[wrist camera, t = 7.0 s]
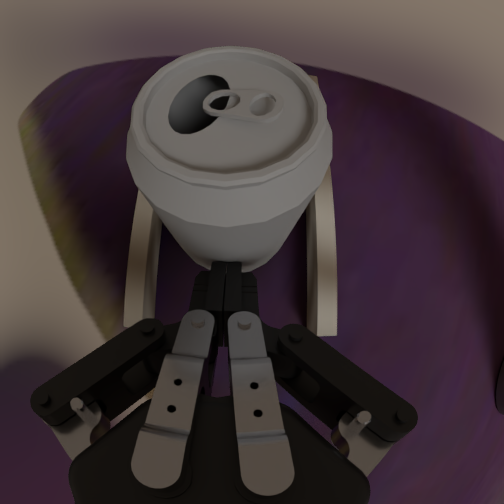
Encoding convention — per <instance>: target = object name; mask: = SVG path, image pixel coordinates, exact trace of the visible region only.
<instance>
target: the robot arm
mask: <svg viewBox="0 0 504 504" xmlns="http://www.w3.org/2000/svg"><path fill="white" fill-rule="evenodd" d="M223 338H224V347H228V367H229V382H230V396H225V397H219V398H215V397H211V393H212V386H213V380H214V374H215V368H216V362H217V355H218V347H223ZM275 381H276V382H277V383H278V384H279V385H281V386H282V387H283V388H284V389H285V390H286V391H287V392H288V393H289V394H291V395H292V396H293V397H294V398H295V399H296V400H297V401H298V402H300V403H301V404H302V405H303V406H304V407H305V408H306V409H308V410H309V411H310V412H311V413H312V414H313V415H315V416H316V417H317V418H318V419H319V420H321V421H322V422H323V423H324V424H325V425H327V426H328V427H329V428H330V429H331V430H332V432H331V441H332V443H333V444H334V446H335V447H336V448H337V449H338V450H337V449H336V448H335V447H333V446H332V445H331V444H330V443H329V442H328V441H327V440H326V439H324V438H323V437H322V436H321V435H320V434H319V433H318V432H317V431H316V430H314V429H313V428H312V427H311V426H310V425H309V424H308V423H307V422H306V421H305V420H304V419H303V418H302V417H301V416H300V415H298V414H297V413H296V412H295V411H294V410H293V409H291V408H290V407H288V406H286V405H284V404H282V403H280V402H279V400H278V394H277V389H276V384H275ZM153 388H155V391H154V394H153V397H152V398H151V399H149V400H147V401H145V402H144V403H142V404H141V405H140V406H138V407H137V408H136V409H135V410H134V411H132V412H131V413H130V414H129V415H127V416H126V417H125V418H124V419H123V420H121V421H120V422H119V423H118V424H116V425H115V426H114V427H113V428H111V429H110V421H111V420H113V419H114V418H115V417H117V416H118V415H119V414H121V413H122V412H123V411H125V410H126V409H127V408H129V407H130V406H131V405H133V404H134V403H135V402H137V401H138V400H139V399H141V398H142V397H143V396H144V395H146V394H147V393H148V392H150V391H151V390H152V389H153ZM30 402H31V407H32V409H33V411H34V412H35V413H36V414H37V415H38V416H39V417H40V418H42V419H43V421H44V422H45V423H46V424H47V425H48V426H49V427H50V428H51V429H52V430H53V432H54V433H55V435H56V437H57V438H58V440H59V442H60V443H61V445H62V446H63V448H64V449H65V451H66V452H67V454H68V455H69V457H70V458H71V459H72V463H71V465H70V468H69V474H68V475H69V476H68V477H69V484H70V488H71V491H72V494H73V497H74V500H75V504H368V502H369V498H370V485H369V481H368V479H367V476H368V475H369V474H370V472H371V471H372V470H373V469H374V468H375V467H376V465H377V464H378V463H379V462H380V461H381V459H382V458H383V457H384V456H385V454H386V453H387V452H388V450H389V449H390V448H391V447H392V446H393V445H394V444H395V443H397V442H398V441H399V440H400V439H402V438H403V437H404V436H405V435H406V434H408V433H409V432H410V431H411V430H412V429H413V428H414V427H415V426H416V424H417V420H418V415H417V412H416V410H415V408H414V407H413V406H412V405H411V404H409V403H408V402H407V401H405V400H404V399H402V398H401V397H399V396H398V395H397V394H395V393H394V392H392V391H391V390H390V389H388V388H387V387H385V386H384V385H383V384H381V383H380V382H379V381H377V380H376V379H374V378H373V377H372V376H370V375H369V374H368V373H366V372H365V371H363V370H362V369H361V368H359V367H358V366H357V365H355V364H354V363H353V362H351V361H350V360H349V359H347V358H346V357H344V356H343V355H342V354H340V353H339V352H338V351H336V350H335V349H334V348H332V347H331V346H330V345H328V344H327V343H326V342H324V341H323V340H322V339H320V338H319V337H318V336H317V335H315V334H314V333H313V332H311V331H310V330H309V329H307V328H306V327H304V326H302V325H299V324H289V325H286V326H284V327H283V328H282V329H281V330H280V329H277V328H273V327H270V326H268V325H266V324H265V323H263V322H262V320H261V319H260V317H259V309H258V294H257V279H256V278H255V276H254V275H253V273H249V272H242V262H227V273H226V262H212V264H211V270H210V271H201V272H200V273H199V274H198V275H197V276H196V278H195V283H194V287H193V292H192V297H191V302H190V306H189V311H188V313H186V314H185V315H184V317H183V318H182V321H180V322H178V323H175V324H170V325H165V326H163V324H162V323H161V322H160V321H159V320H157V319H154V318H146V319H142V320H140V321H138V322H137V323H135V324H134V325H132V326H131V327H129V328H128V329H126V330H125V331H123V332H122V333H120V334H118V335H117V336H115V337H114V338H112V339H111V340H109V341H108V342H106V343H105V344H103V345H102V346H100V347H99V348H97V349H96V350H94V351H93V352H91V353H90V354H88V355H87V356H85V357H83V358H82V359H80V360H79V361H78V362H76V363H74V364H73V365H71V366H70V367H68V368H67V369H65V370H64V371H62V372H61V373H60V374H58V375H56V376H55V377H53V378H52V379H50V380H49V381H47V382H46V383H44V384H43V385H41V386H40V387H38V388H37V389H36V390H35V391H34V392H33V394H32V396H31V400H30ZM496 405H497V409H498V411H499V412H500V413H501V414H503V415H504V360H503V363H502V366H501V369H500V373H499V377H498V382H497V389H496Z"/></svg>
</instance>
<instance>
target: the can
mask: <svg viewBox="0 0 504 504" xmlns="http://www.w3.org/2000/svg"><path fill="white" fill-rule="evenodd" d="M331 159H332V130H331V128H330V125H329V123H328V120H327V108H326V103H325V101H324V99H323V96H322V94H321V92H320V90H319V88H318V85H317V84H316V83H315V82H314V81H313V80H312V79H311V78H310V77H309V76H308V75H307V74H306V73H305V72H304V71H303V70H302V69H301V68H300V67H298V66H297V65H295V64H293V63H292V62H290V61H288V60H286V59H285V58H283V57H281V56H279V55H276V54H273V53H270V52H267V51H263V50H261V49H257V48H250V47H239V46H225V47H224V46H223V47H214V48H206V49H202V50H199V51H196V52H193V53H190V54H187V55H184V56H181V57H179V58H178V59H176V60H174V61H172V62H171V63H169V64H167V65H166V66H164V67H162V68H161V69H159V70H158V71H157V72H156V73H155V74H154V75H153V76H152V77H151V78H150V79H149V80H148V81H147V82H146V83H145V84H144V85H143V86H142V88H141V90H140V92H139V94H138V96H137V98H136V100H135V102H134V104H133V106H132V114H131V126H130V129H129V131H128V135H127V151H126V160H127V162H128V165H129V168H130V171H131V174H132V176H133V179H134V182H135V184H136V186H137V187H138V188H139V190H140V191H141V193H142V194H143V196H144V197H145V198H146V200H147V201H148V203H149V204H150V205H151V207H152V208H153V210H154V211H155V212H156V214H157V215H158V216H159V218H160V219H161V221H162V222H163V223H164V225H165V226H166V227H167V229H168V230H169V231H170V233H171V234H172V235H173V237H174V238H175V239H176V241H177V242H178V243H179V245H180V246H181V247H182V249H183V250H184V251H185V252H186V253H187V254H188V255H189V256H190V257H191V258H192V259H193V260H194V261H195V262H196V263H197V264H199V265H201V266H203V267H205V268H207V269H209V270H211V264H212V262H226V273H227V262H242V272H249V271H252V270H254V269H255V268H257V267H259V266H261V265H263V264H265V263H267V262H268V261H269V260H270V259H271V258H272V257H273V256H274V255H275V254H276V253H277V252H278V251H279V249H280V248H281V246H282V245H283V243H284V241H285V240H286V238H287V237H288V235H289V234H290V232H291V230H292V229H293V227H294V226H295V224H296V223H297V221H298V219H299V218H300V216H301V215H302V213H303V212H304V210H305V208H306V207H307V205H308V204H309V202H310V200H311V199H312V197H313V196H314V194H315V192H316V191H317V189H318V188H319V186H320V184H321V183H322V180H323V178H324V176H325V173H326V171H327V169H328V166H329V164H330V161H331Z"/></svg>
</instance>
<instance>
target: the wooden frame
mask: <svg viewBox="0 0 504 504" xmlns="http://www.w3.org/2000/svg"><path fill="white" fill-rule="evenodd" d="M308 76H309V77H310V78H311V79H312V80H313V81H314V82H315V83H316V84H317V85H318V80H317V76H311V75H308ZM318 88H319V86H318ZM161 230H162V221H161V219H160V218H159V216H158V215H157V214H156V212H155V211H154V210H153V208H152V207H151V205H150V204H149V203H148V201H147V200H146V198H145V197H144V196H143V194H142V193H141V191H140V190H139V191H138V196H137V202H136V207H135V213H134V220H133V226H132V233H131V241H130V249H129V257H128V267H127V277H126V289H125V304H124V325H123V327H131V326H132V325H134V324H135V323H137V322H138V321H140V320H142V319H146V318H154V317H155V297H156V282H157V270H158V258H159V248H160V239H161ZM306 230H307V329H309V330H310V331H311V332H313V333H314V334H315V335H317V336H337V263H336V238H335V220H334V206H333V193H332V182H331V172H330V164H329V166H328V169H327V171H326V173H325V176H324V178H323V180H322V183H321V184H320V186H319V188H318V189H317V191H316V192H315V194H314V196H313V197H312V199H311V200H310V202H309V204H308V205H307V207H306Z"/></svg>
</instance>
